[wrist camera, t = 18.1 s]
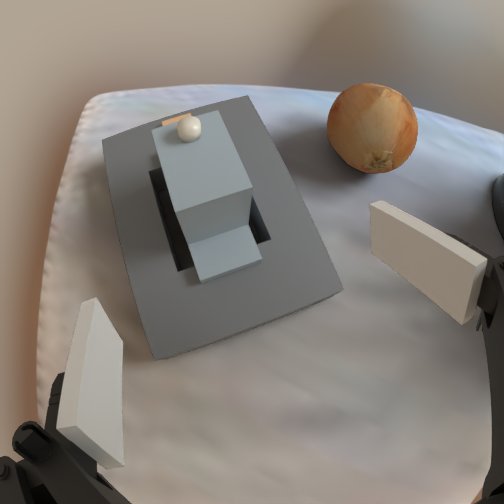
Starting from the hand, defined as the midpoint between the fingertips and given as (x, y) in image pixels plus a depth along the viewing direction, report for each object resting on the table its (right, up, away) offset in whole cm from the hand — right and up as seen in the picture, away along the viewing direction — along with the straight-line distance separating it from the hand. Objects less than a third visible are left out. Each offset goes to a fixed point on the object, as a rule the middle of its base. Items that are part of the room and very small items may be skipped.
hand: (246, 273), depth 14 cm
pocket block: (-4, +4, +17) cm, 18 cm away
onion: (+13, +12, +21) cm, 27 cm away
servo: (-4, +4, +17) cm, 18 cm away
